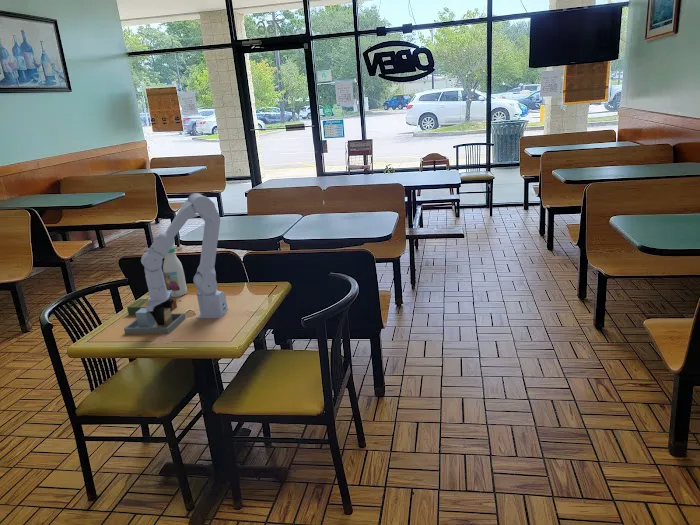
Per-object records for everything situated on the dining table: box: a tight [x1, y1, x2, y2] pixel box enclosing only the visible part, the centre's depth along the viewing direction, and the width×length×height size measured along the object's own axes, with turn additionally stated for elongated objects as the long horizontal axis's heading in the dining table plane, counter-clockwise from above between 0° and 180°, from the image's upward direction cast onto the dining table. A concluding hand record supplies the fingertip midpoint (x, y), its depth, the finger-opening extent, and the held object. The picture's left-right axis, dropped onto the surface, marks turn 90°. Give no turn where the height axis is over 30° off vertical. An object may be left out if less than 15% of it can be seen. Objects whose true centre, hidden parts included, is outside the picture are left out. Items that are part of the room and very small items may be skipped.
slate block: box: [135, 308, 155, 328], centre depth 183 cm, size 4×4×6 cm
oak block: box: [156, 308, 173, 328], centre depth 182 cm, size 4×4×6 cm
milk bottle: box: [162, 246, 188, 298], centre depth 212 cm, size 8×8×20 cm
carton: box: [126, 298, 178, 316], centre depth 197 cm, size 8×16×4 cm, turn 76°
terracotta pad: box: [150, 333, 180, 345], centre depth 173 cm, size 7×7×1 cm
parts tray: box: [123, 312, 186, 335], centre depth 183 cm, size 16×12×2 cm
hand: (164, 322), depth 183 cm, fingers closed on oak block, 4 cm apart
